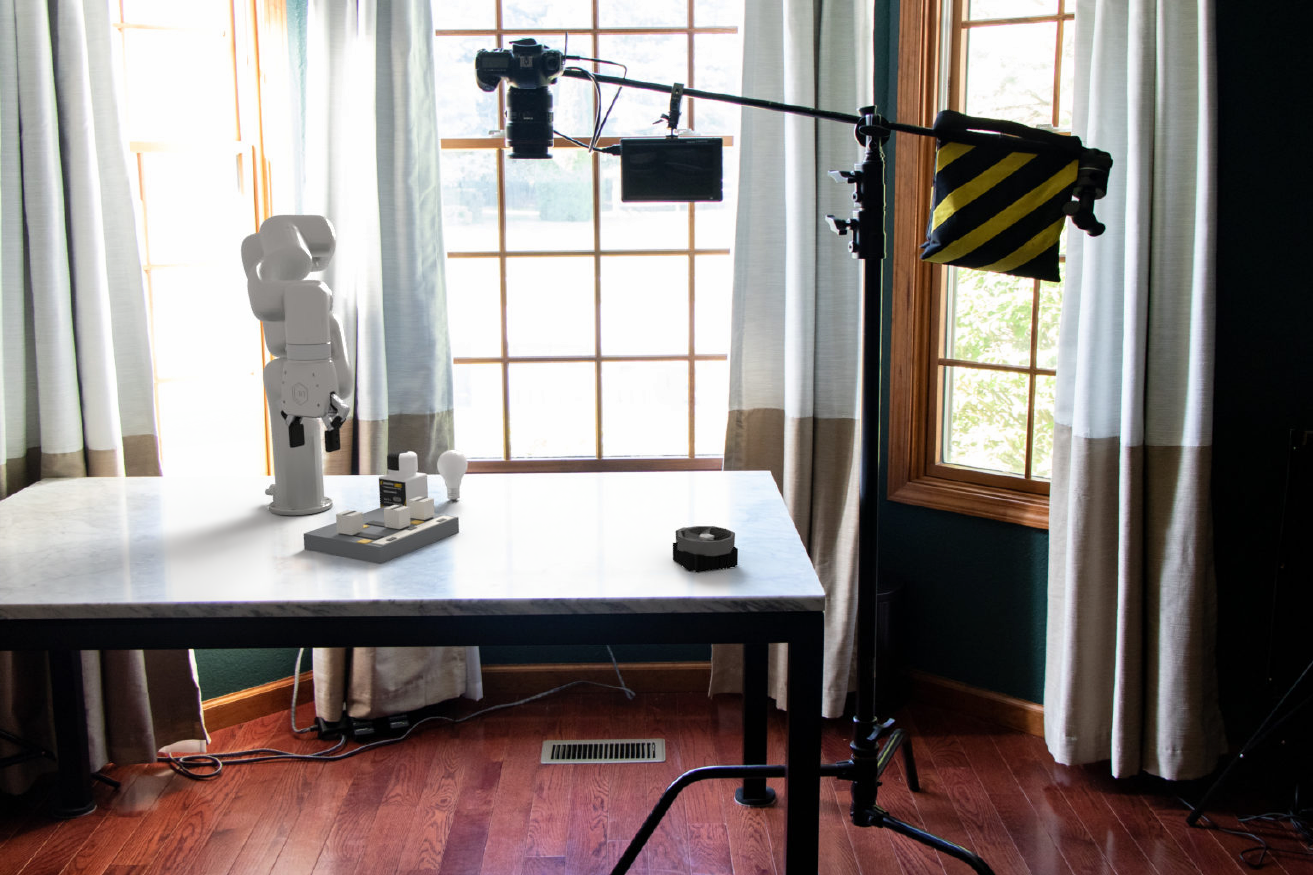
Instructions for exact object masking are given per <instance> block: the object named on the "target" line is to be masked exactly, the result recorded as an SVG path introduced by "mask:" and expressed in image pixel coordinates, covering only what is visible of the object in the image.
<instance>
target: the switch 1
mask: <svg viewBox="0 0 1313 875" xmlns="http://www.w3.org/2000/svg"><path fill="white" fill-rule="evenodd" d="M335 518H336V522H337V533H342V534H348V535H354V534H357V533H360V532H362V531H363V512H362V511H357V510H349V509H347V510H345V511H344V510H343V511H341V512H337V513H336V514H335ZM336 522H335V523H336Z"/></svg>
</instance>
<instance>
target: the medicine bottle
mask: <svg viewBox="0 0 1313 875" xmlns="http://www.w3.org/2000/svg"><path fill="white" fill-rule="evenodd" d="M386 460H387V463H386V464H387V473H388V474H384V475H381V476H379V477H378V486H379V487H378V488H379V489H378V490H379V491H378V493H379V506H380V507H379V508H381V507H384V506H389V507H390V506H392V505H403V506H407V507H409V500H410V499H413V498H416V497H419V496H420V497H428V498H429V492H428V490H429V488H428V474H427V473H424V472H418V470H419V469H418V468H419V467H418V454H417V453H416V452H415V451H412V450H396V451H395V450H394V451H392V452H389V453H388V454H387V456H386Z"/></svg>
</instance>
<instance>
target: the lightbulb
mask: <svg viewBox="0 0 1313 875" xmlns="http://www.w3.org/2000/svg"><path fill="white" fill-rule="evenodd" d="M436 464H437V465H436V466H437V470H438V473H439V474H440V476H441V477H442V478H443V481H444V486H445V487H446V491H447V492H446V493H447V495H446V496H447V499H448V500H449V501H453V502H455V501H457V500H458V499H460V498H461V496H460V495H461V492H460V487H461V485H462V480H463V478H464V476H465V474H466V472H467V470H468V465H469V463H468V460H467V457H466V456H465V455H464V453H463V452H461V451H459V450H456V449H450V450H446V451H444V452H442V453H441V454H440V456H439V457H438V459H437V463H436Z"/></svg>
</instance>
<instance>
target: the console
mask: <svg viewBox="0 0 1313 875" xmlns="http://www.w3.org/2000/svg"><path fill="white" fill-rule="evenodd" d="M387 507H389V506H384V507H381V508H380V507H378V508H376V509H373V510H370V511H366V512H364V513H363V531H362V532H360V533H357V534H354V535H348V534H342V533H337V522H334V523H331V524H328V525H325V526H322V527H319V528H317V529H316V528H315V529H312V530H309V531H307V532H304V533H303V550H307V551H310V552H311V551H312V552H317V553H322V554H328V555H331V556H332V555H333V556H338V557H344V558H350V559H353V560H360V561H365V562H370V563H374V564H375V563H376V564H380V565H381V564H383V563H386V562H388V561H391V560H394V559H395V558H399V557H401V556H403V555H407V554H408V553H411V552H413V551H415V550H418V549H420V548H424V547H427V546H428V545H432V544H433V543H436V542H438V541H440V540H444V539H445V538H447V537H451V536H453V535H456V534H458V533H460V529H459V528H460V524H459V518H460V517H458V516H453V515H447V514H440V513H436V512H434V517H431V518H429V519H426V520H421V519H415V518H410V526H407V527H404V528H402V529H395V528H389V527H385V520H384V508H387Z"/></svg>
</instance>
